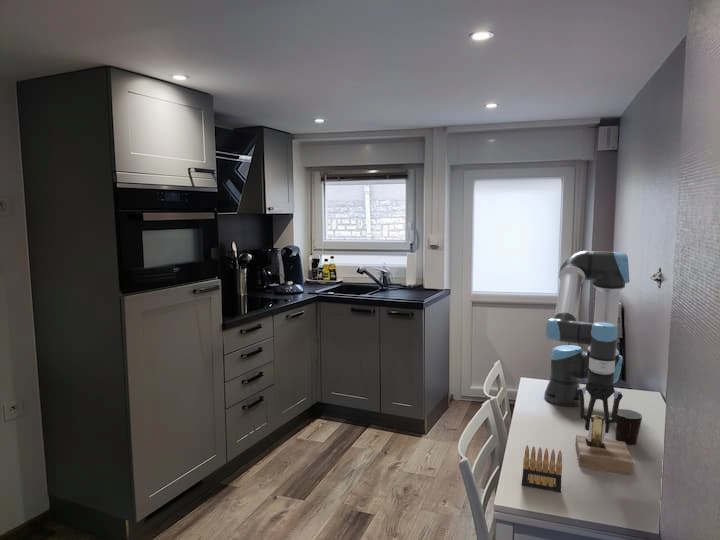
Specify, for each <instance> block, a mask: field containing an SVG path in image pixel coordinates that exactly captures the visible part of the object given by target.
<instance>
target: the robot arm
mask: <svg viewBox="0 0 720 540" xmlns="http://www.w3.org/2000/svg"><path fill="white" fill-rule="evenodd" d="M558 278H559V281H560V283H559V286H558V287H559V288H558V294H557V299H556V305H555V311H554V317H553V318H548V319H547V320H546V323H545V324H546V325H545V338H546V339H548V340H551V341H556V342H564V343H571V344H572V343H574V344H580V345H589V346H588V347H587V350H586V351H585V350H583V348H582V347H581V346H579V345H571V344H567V345H565V344H564V345H563V344H562V345H556V346H554V348H552V351H551V357H550V360H551V361H550V372H549V374H550V375H549V381H548V384H547V386H546V388H545V391H544V400H545V401H547V402H549V403H551V404H553V405H554V404H555V405H558V406H562V407H577V406H579V417H580V419H581V420H585V424H584V430H585V431H587V436H588V441H590V442H591V435H592V421H591V416H592V415H593V412H594V407H595V404H596V401H597V400H598V401H599V400H601V401H602V409H603V415H604V416H603V418H604V423H603V429H602V442H601V443H603V444H604V439H606V438H605V437H606V434H609V433H610V425H611V424H615V423H616V419H617V413H618V409H620V408H619V406H620V401H621V400H622V398H624V397H623V395H624V394H622V392H621V391H617V390H615V388H614V384H615V383H617V382H618V380H619V378H620V375H621V372H622V371H621V370H622V365H623V356H622V355H620V351H619V350H618V348H617V345H618V344H617V342H618V338H619V337H618V335H619V334H618V320H619V308H620V296H621V291H622V290H624V289H625V288H626V284H629V283H630V267H629V256H628V254H627V253H624V252H618V251H602V250H597V251H596V250H581V251H578V252H575V253H574V254H572V255H570V256H569V257H568V258H566V259H565V260H564V262H563V263H562V264H561V266H560V269H559V272H558ZM585 280H586V281H592V283H591V284H592V286H593V288H594V289H595V300H594V313H593V322H589V321H588V322H587V321H579V320H578V313H579V307H580V299H581V290H582V284H583V282H585ZM577 320H578V321H577ZM580 380H587V383H586V384H585V386H582V387H581V386H580ZM586 391H587V393H588V394H589V395H590V397H589V401H588V406H587V409H586V413H585V396H584V395H586ZM612 395H613V397H614V399H613V404H612V409H611V414H610V413H609V400H608V399H609V398H610V397H611V396H612ZM610 415H611V416H610Z"/></svg>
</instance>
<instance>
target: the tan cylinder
mask: <svg viewBox="0 0 720 540" xmlns="http://www.w3.org/2000/svg"><path fill="white" fill-rule="evenodd" d="M591 421H592V435H591V442H590V441H589V446H591V447H598V448H602V443H601V442H602V429H603V423H604V421H605V419H604V416H601V415H599V414H594V415H593V414H592V415H591Z"/></svg>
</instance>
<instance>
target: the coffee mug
mask: <svg viewBox="0 0 720 540" xmlns="http://www.w3.org/2000/svg"><path fill="white" fill-rule="evenodd" d="M642 421H643V415H642V414H641V413H640V412H638V411H635V410H633V409H626V408H618V413H617V419H616V423H614V429H615V441H621V442H625V443H626V445H627V446H635V445H636V444H637V442H638V437H639V432H640V429H641V424H642Z"/></svg>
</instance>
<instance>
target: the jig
mask: <svg viewBox="0 0 720 540" xmlns="http://www.w3.org/2000/svg"><path fill="white" fill-rule="evenodd" d="M574 445H575V446H576V447H575V452H576V456H577V457H578V458H577V457H576V458H577V463H578V467H580V466H581V468H587V469H593V470H599V471H604V472H611V473H615V474H617V473H618V474H623V475H630V476H633V474H634V460H633V457H632V454H631V452H630V450H629V448H628V445H626V443H625V442H621V441H616V439H615V440H614V439H607V438H605V439H604V444H603V443H602V448H598V447H591V446H589V441H588V435H580V434H576V435H575V444H574Z"/></svg>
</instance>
